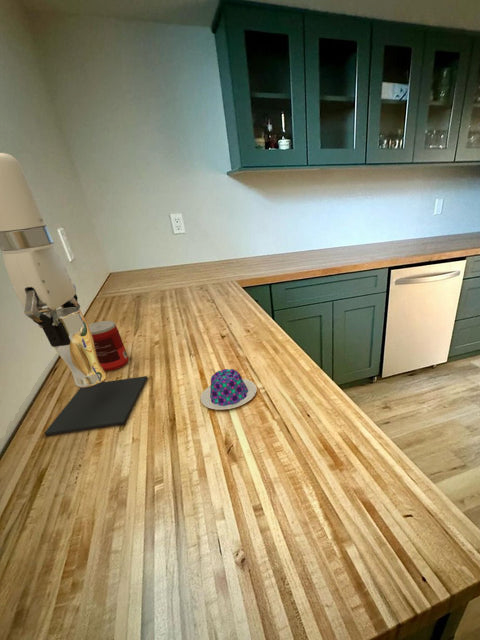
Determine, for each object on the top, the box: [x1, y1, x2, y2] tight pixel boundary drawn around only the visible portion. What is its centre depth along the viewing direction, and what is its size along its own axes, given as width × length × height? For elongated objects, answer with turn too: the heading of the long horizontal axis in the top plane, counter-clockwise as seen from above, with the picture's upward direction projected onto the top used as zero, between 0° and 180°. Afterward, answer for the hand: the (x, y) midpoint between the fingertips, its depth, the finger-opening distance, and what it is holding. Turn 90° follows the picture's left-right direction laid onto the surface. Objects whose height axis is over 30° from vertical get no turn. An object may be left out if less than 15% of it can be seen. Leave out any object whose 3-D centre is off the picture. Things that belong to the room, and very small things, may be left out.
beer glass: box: [44, 307, 108, 389], centre depth 67 cm, size 7×7×15 cm
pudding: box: [200, 368, 258, 411], centre depth 71 cm, size 12×12×5 cm
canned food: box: [88, 320, 129, 372], centre depth 88 cm, size 8×8×11 cm
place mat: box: [44, 375, 148, 437], centre depth 74 cm, size 15×18×1 cm
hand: (70, 336), depth 65 cm, fingers closed on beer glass, 7 cm apart
